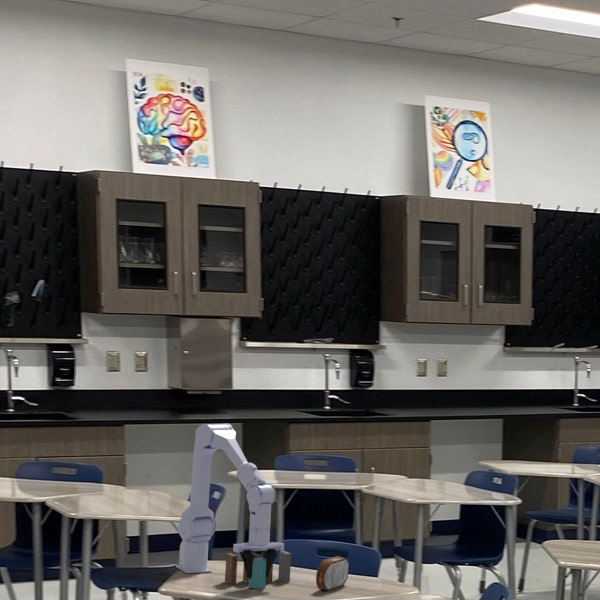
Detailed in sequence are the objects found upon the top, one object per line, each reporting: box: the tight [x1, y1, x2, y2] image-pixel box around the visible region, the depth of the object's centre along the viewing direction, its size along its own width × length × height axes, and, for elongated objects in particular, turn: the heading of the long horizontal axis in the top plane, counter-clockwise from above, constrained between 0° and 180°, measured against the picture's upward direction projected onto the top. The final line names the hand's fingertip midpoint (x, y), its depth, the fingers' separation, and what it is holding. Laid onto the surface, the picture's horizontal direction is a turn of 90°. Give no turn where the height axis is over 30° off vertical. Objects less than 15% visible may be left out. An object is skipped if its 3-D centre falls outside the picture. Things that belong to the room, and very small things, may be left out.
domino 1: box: [224, 552, 239, 585], centre depth 326 cm, size 2×4×8 cm, turn 25°
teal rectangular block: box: [247, 557, 267, 589], centre depth 322 cm, size 2×4×8 cm, turn 115°
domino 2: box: [242, 554, 257, 584], centre depth 328 cm, size 2×4×8 cm, turn 25°
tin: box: [315, 555, 350, 592], centre depth 326 cm, size 15×3×8 cm, turn 149°
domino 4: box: [277, 550, 292, 583], centre depth 333 cm, size 2×4×8 cm, turn 25°
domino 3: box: [261, 551, 274, 584], centre depth 331 cm, size 2×4×8 cm, turn 25°
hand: (257, 577), depth 322 cm, fingers closed on teal rectangular block, 4 cm apart
